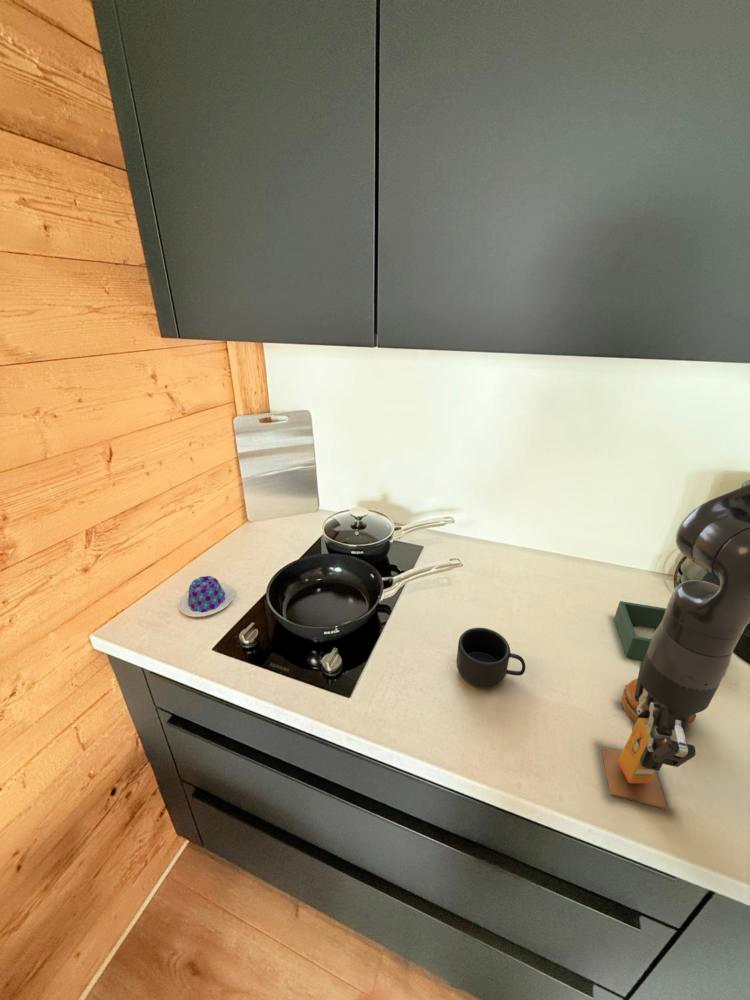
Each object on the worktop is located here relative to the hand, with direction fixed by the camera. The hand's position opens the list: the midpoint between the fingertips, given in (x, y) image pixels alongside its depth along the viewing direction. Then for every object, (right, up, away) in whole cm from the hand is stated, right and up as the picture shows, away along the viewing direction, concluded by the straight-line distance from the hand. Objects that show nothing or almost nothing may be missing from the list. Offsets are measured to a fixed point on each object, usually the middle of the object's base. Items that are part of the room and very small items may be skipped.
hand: (644, 749), depth 59 cm
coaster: (0, -6, +3) cm, 6 cm away
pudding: (-76, +11, +38) cm, 86 cm away
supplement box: (0, -5, +2) cm, 5 cm away
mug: (-17, +2, +19) cm, 26 cm away
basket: (+19, +6, +26) cm, 33 cm away
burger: (+9, -1, +12) cm, 15 cm away
